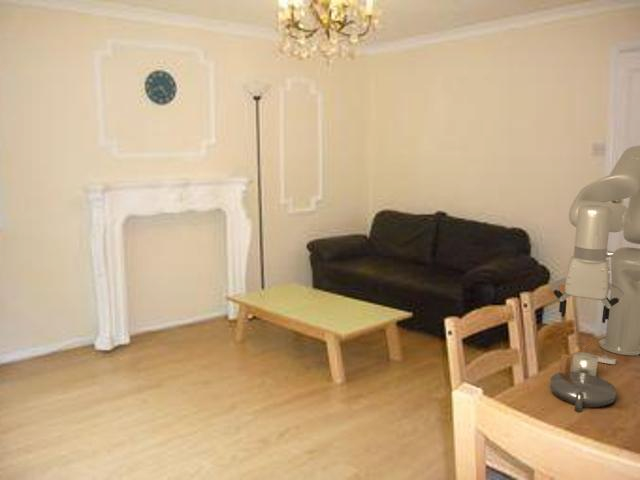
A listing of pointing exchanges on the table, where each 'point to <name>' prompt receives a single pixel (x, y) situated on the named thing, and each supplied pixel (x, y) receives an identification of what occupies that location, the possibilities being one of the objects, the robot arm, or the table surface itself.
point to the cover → (585, 363)
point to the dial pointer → (579, 401)
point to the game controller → (606, 360)
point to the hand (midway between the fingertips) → (583, 318)
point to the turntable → (581, 385)
